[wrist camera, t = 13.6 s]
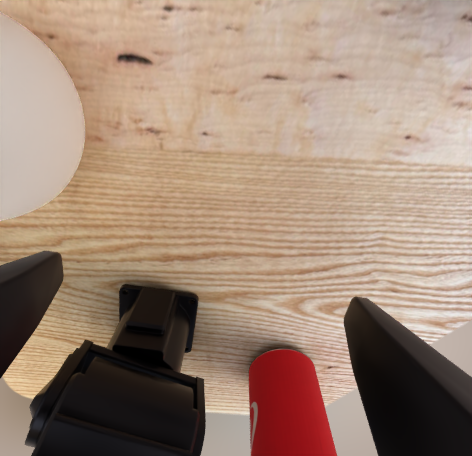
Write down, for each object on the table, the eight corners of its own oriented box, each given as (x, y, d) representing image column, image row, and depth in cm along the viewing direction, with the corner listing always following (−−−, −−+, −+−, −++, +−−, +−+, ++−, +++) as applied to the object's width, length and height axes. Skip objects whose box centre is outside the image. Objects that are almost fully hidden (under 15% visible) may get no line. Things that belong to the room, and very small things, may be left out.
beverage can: (241, 380, 30) (240, 547, 20) (258, 336, 28) (268, 500, 17) (300, 392, 31) (331, 559, 20) (323, 349, 28) (373, 516, 17)
